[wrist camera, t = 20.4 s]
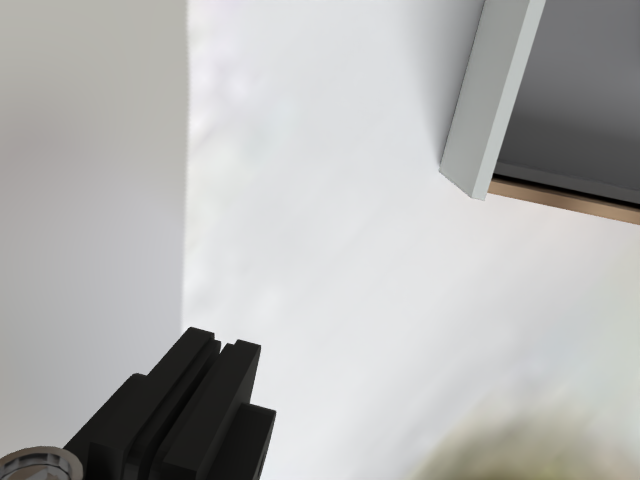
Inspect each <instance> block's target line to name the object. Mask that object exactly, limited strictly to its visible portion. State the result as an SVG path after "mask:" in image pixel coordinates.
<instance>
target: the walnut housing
mask: <svg viewBox="0 0 640 480" xmlns="http://www.w3.org/2000/svg"><path fill="white" fill-rule="evenodd" d="M487 193H491V194H496V195H501V196H505V197H510V198H515V199H519V200H524V201H529V202H534V203H538V204H543V205H548V206H552V207H557V208H562V209H566V210H571V211H576V212H581V213H585V214H590V215H595V216H599V217H604V218H609V219H613V220H618V221H623V222H628V223H632V224H637V225H640V204H638V203H633V202H629V201H624V200H619V199H614V198H610V197H605V196H600V195H595V194H591V193H586V192H581V191H577V190H572V189H567V188H562V187H558V186H553V185H548V184H543V183H539V182H534V181H529V180H525V179H520V178H515V177H510V176H506V175H501V174H496V173H493V175H492V178H491V181H490V185H489V188H488V191H487Z"/></svg>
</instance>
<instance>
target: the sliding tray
mask: <svg viewBox="0 0 640 480" xmlns="http://www.w3.org/2000/svg"><path fill="white" fill-rule="evenodd" d="M439 172H440V173H441V174H442V175H443V176H445V177H446V178H447V179H448V180H450V181H451V182H452V183H453V184H454V185H456V186H457V187H458V188H459V189H461V190H462V191H463V192H464V193H465V194H467V195H468V196H469V197H470V198H473V199H478V200H482V201H485V198H486V194H487V191H488V188H489V185H490V181H491V178H492V175H493V173H496V174H501V175H506V176H510V177H515V178H520V179H525V180H529V181H534V182H539V183H543V184H548V185H553V186H558V187H562V188H567V189H572V190H577V191H581V192H586V193H591V194H595V195H600V196H605V197H610V198H614V199H619V200H624V201H629V202H633V203H638V204H640V0H485V3H484V7H483V11H482V14H481V18H480V22H479V25H478V29H477V32H476V36H475V40H474V43H473V47H472V51H471V54H470V58H469V62H468V65H467V69H466V73H465V76H464V80H463V84H462V87H461V91H460V95H459V98H458V102H457V106H456V109H455V113H454V117H453V120H452V124H451V128H450V131H449V135H448V139H447V142H446V146H445V150H444V153H443V157H442V161H441V164H440V168H439Z"/></svg>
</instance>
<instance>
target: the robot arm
mask: <svg viewBox="0 0 640 480" xmlns="http://www.w3.org/2000/svg"><path fill="white" fill-rule="evenodd" d="M214 338H215V337H214V333H212V332H209V331H205V330H201V329H197V328H194V327H190V328H188V329H187V331H186V332H185V333H184V334H183V335H182V336H181V337H180V339H179V340H178V341H177V342H176V343H175V344H174V345H173V347H172V348H171V349H170V350H169V351H168V352H167V354H166V355H165V356H164V357H163V358H162V359H161V360H160V362H159V363H158V364H157V365H156V366H155V367H154V368H153V369H152V371H151V372H150V373H149V374H148V375H147V376H146V375H142V374H139V373H136V374H133V375H132V376H130V378H128V379H127V380H126V382H124V384H123V385H122V386H121V387H120V388H119V389H118V390H117V391H116V392H115V393H114V394H113V395H112V396H111V397H110V399H109V400H108V401H107V402H106V403H105V404H104V405H103V406H102V407H101V408H100V409H99V410H98V411H97V412H96V413H95V414H94V416H93V417H92V418H91V419H90V420H89V421H88V422H87V423H86V424H85V425H84V426H83V427H82V428H81V430H79V432H78V433H77V434H76V435H75V436H74V437H73V438H72V439H71V440H70V441H69V442H68V443H67V444H66V445H65V446H64V448H63V449H61V448H57V447H51V446H37V447H31V448H25V449H21V450H19V451H16V452H13V453H10V454H8V455H6V456H4V457H2V458H1V459H0V480H259V479H260V476H261V472H262V469H263V465H264V462H265V458H266V454H267V451H268V447H269V443H270V439H271V434H272V430H273V426H274V421H275V417H276V411H275V410H271V409H268V408H264V407H260V406H256V405H253V404H249V403H250V399H251V394H252V389H253V385H254V380H255V375H256V371H257V366H258V361H259V357H260V352H261V345H258V344H254V343H250V342H246V341H243V340H239V339H238V340H237V341H236V343H235V344H234V345H233V344H229V343H227V344H226V345H225V347H224V348H223V350H222V351H221V353H220V349H221V341H218V340H214Z"/></svg>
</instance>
